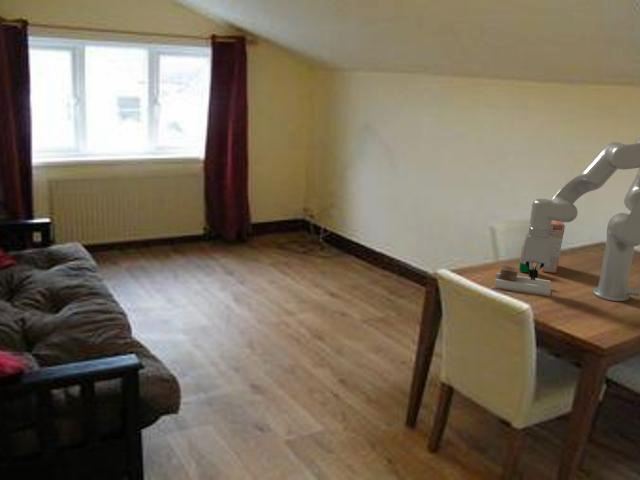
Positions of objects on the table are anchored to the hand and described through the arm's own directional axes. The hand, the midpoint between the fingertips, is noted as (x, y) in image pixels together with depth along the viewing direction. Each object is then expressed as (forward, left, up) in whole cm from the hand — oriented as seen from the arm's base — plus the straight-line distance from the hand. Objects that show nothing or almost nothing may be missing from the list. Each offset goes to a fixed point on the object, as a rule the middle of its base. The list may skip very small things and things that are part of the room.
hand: (532, 279), depth 234 cm
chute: (+3, 0, -4) cm, 5 cm away
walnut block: (+9, 0, -4) cm, 10 cm away
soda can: (+2, -22, -4) cm, 22 cm away
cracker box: (-7, -32, -4) cm, 33 cm away
